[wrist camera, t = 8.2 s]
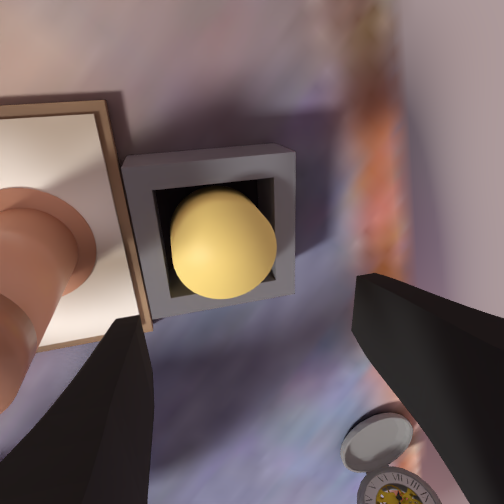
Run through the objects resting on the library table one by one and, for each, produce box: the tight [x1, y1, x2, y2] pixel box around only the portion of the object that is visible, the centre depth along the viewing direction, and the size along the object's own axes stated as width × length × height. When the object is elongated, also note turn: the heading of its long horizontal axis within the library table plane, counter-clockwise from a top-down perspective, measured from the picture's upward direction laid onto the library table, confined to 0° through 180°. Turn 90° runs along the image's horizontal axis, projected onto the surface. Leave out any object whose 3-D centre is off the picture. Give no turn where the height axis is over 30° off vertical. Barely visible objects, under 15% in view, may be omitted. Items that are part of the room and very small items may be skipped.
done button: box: [170, 185, 277, 299], centre depth 16 cm, size 4×4×3 cm
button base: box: [121, 143, 296, 319], centre depth 17 cm, size 7×7×3 cm
